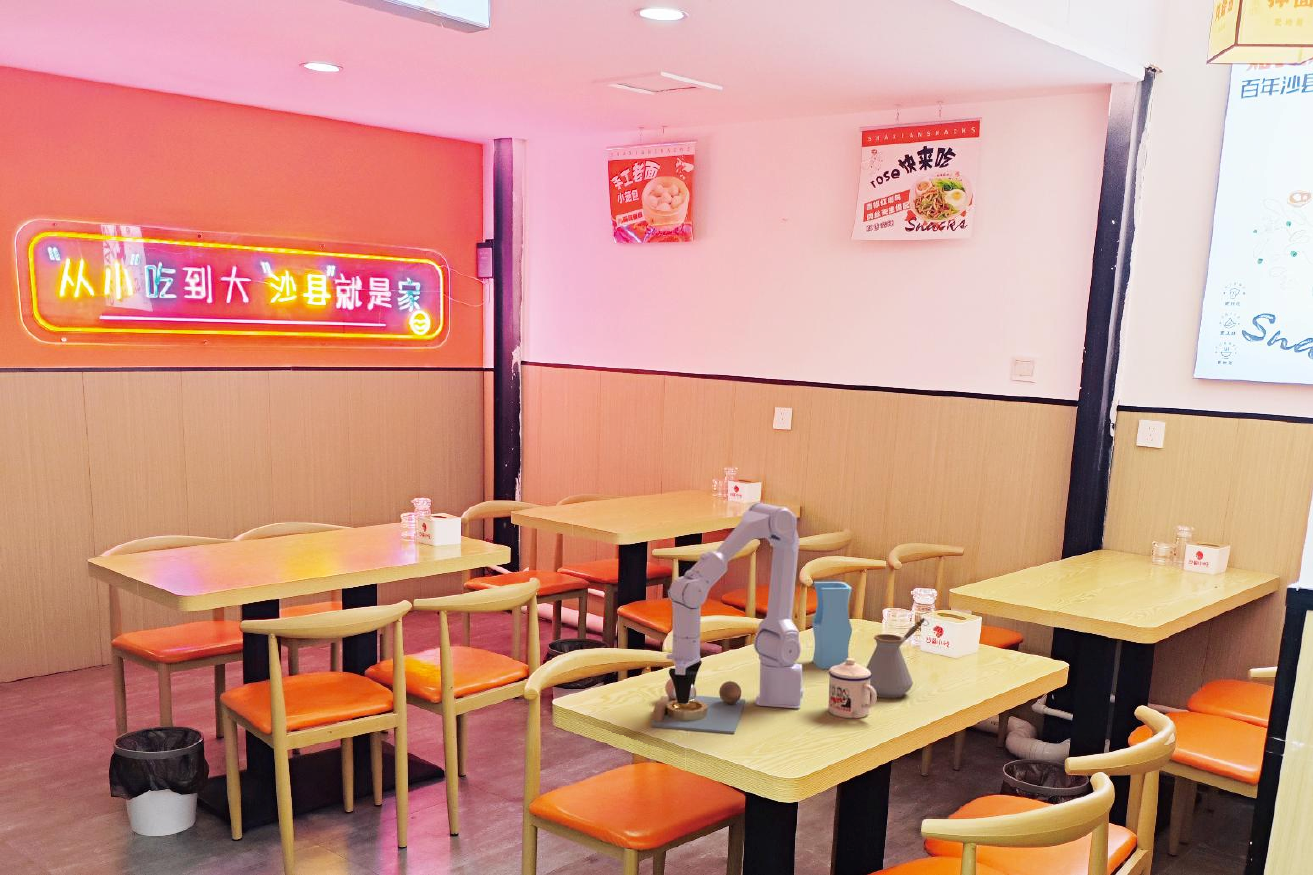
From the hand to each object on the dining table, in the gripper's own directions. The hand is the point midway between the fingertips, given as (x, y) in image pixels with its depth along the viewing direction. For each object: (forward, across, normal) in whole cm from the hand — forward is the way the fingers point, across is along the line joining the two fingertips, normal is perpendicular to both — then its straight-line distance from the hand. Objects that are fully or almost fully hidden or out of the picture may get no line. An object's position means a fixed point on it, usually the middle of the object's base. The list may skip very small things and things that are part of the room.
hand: (684, 699), depth 224 cm
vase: (+4, -49, +29) cm, 57 cm away
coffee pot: (+4, -33, +45) cm, 56 cm away
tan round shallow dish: (+4, -2, 0) cm, 4 cm away
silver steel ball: (-1, 0, 0) cm, 1 cm away
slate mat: (+4, -4, +3) cm, 6 cm away
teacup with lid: (+4, -12, +35) cm, 37 cm away
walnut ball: (+1, -11, +8) cm, 14 cm away
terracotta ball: (+1, -11, -4) cm, 12 cm away
